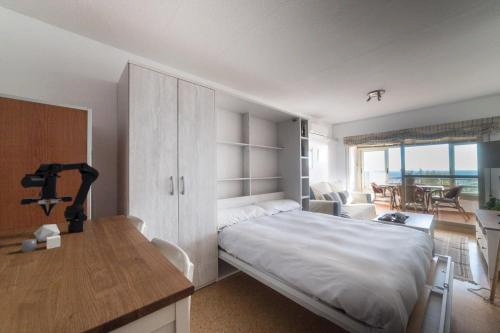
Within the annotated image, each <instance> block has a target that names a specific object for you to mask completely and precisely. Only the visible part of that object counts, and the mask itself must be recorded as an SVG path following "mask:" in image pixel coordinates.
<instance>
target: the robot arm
mask: <svg viewBox="0 0 500 333" xmlns="http://www.w3.org/2000/svg"><path fill="white" fill-rule="evenodd" d="M71 170H77V171H78V173H79V174H80V175H81V177H80V179H81V184H80V186H79V187H78V188H79V189H78V191H77V194H76V196H75V198H74V200H73V196H72V195H62V196H61V197H58V191H57V185H58V184H57V182H58V180H57V179H59V178H62V176H61V175H60V173H63V172H65V171H71ZM99 176H100V173H99V171H98V170H97V169H95V167H93V166H91V165H89V164H88V163H87V162H71V163H58V162H43V163H40V165H39V167H38V168H37V169H36V170H35V171H34V172H33V173H25V174H24V176H23V178H21V181H20V185H21V187H22V188H24V189H31V188H40V190H39V193H38V197H39V198H36V197H24V198H22V199H20V205H21V206H22V205H23V206H25V205H32V204H33V203H37V204H36V205H37V206H40V207H41V208H42V210H43V212H44V214H45V216H46V217H50V215H51V213H52V211H53V208H55V206H56V205H58V204H59V202H63V203H68V202H71V203H72V202H73V203H72V204H71V205H67V206H66V207H65V210H64V211H63V213H64V214H63V216H64V218H65V221H66V222H67V223H68V225H67V232H68V234H73V233H81V232H84V230H85V229H84V224H85V223H84V222H85V221H87V220H88V216H87V215H86V214H85V213H84V212H85V207H84V204H85V202H86V200H87V199H86V198H87V196H88V194H89V192H90V189H91V187H92V184H93V183H95V181H97V180H98V177H99ZM48 202H50V203H48ZM48 204H49V205H48Z"/></svg>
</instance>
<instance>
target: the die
mask: <svg viewBox="0 0 500 333" xmlns="http://www.w3.org/2000/svg"><path fill="white" fill-rule="evenodd" d="M60 233H61V232H60V230H59V228H58V225H57V224H56V223H53V224H51V223H50V224H43V225H41V226H40V227H39V228H38V229H37V230H36V231H34V232H33V235H34V236H35V239H37V240H36V241H38V243H39V242H40V243H43V242H44V243H45V242H47V237H52V236H58V235H60Z"/></svg>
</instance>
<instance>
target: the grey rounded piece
mask: <svg viewBox="0 0 500 333" xmlns="http://www.w3.org/2000/svg"><path fill="white" fill-rule="evenodd" d="M37 241H38V240H37V238H30V239H26V240H22V241H21V253H30V252H33V251H36V250H37Z"/></svg>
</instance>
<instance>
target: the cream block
mask: <svg viewBox="0 0 500 333" xmlns="http://www.w3.org/2000/svg"><path fill="white" fill-rule="evenodd" d="M61 240H62V238H61V235H60V234H58V235H57V236H52V237H47V241H46V249H47V250H50V249H53V248H58V247H61Z"/></svg>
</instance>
